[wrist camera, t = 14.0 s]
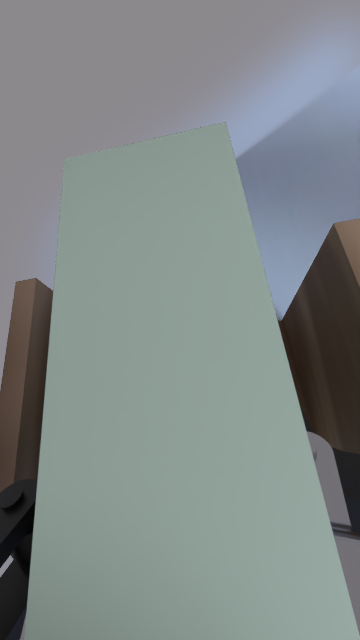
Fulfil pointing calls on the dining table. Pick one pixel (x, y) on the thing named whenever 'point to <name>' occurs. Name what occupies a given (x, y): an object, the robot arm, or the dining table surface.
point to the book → (173, 418)
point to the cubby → (297, 334)
